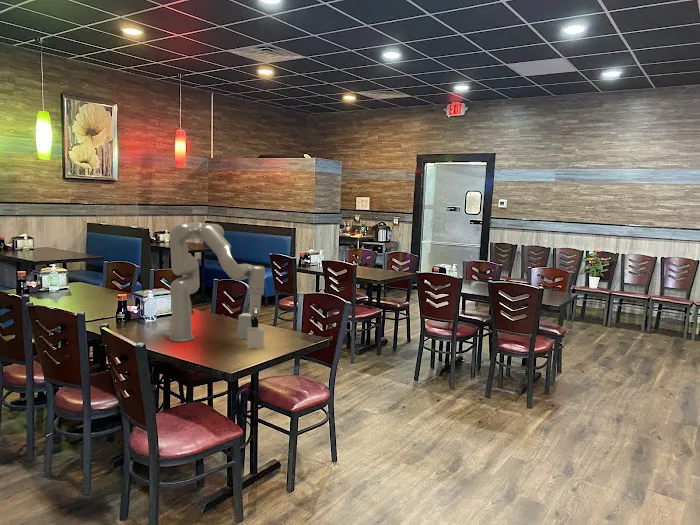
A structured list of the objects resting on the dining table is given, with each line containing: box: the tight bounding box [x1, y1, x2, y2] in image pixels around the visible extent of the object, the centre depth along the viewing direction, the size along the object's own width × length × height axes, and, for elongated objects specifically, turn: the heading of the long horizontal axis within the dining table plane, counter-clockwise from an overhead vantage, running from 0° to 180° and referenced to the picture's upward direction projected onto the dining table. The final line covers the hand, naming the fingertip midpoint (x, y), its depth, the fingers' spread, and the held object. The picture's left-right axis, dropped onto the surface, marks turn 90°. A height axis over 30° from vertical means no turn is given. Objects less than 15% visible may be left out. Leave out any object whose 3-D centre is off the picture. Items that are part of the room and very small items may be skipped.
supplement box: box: [237, 312, 252, 341], centre depth 287 cm, size 7×7×13 cm
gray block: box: [246, 326, 265, 350], centre depth 272 cm, size 8×8×9 cm
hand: (254, 324), depth 271 cm, fingers open, 9 cm apart
